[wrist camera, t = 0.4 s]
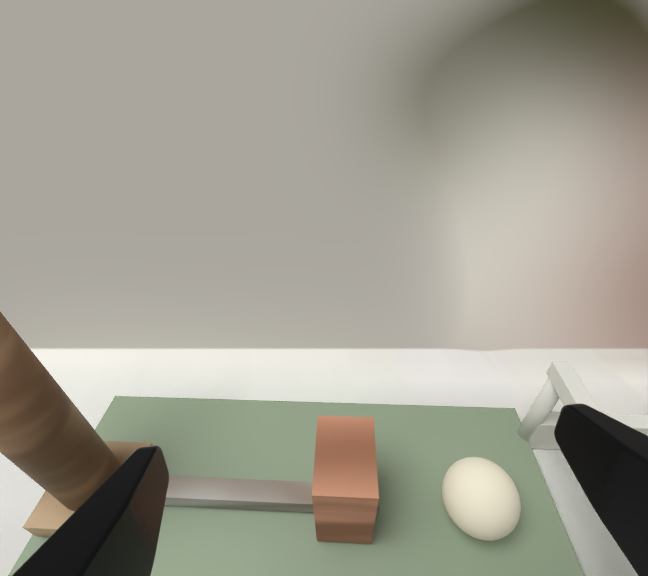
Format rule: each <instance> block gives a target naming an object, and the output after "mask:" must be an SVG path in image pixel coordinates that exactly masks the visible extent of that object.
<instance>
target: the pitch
mask: <svg viewBox="0 0 648 576" xmlns="http://www.w3.org/2000/svg"><path fill="white" fill-rule="evenodd" d="M547 375H548V379H547V381H546V383H545V384H544V386H543V388H542V389H541V391H540V393H539V394H538V396H537V398H536V400H535V401H534V403H533V405H532V406H531V408H530V410H529V412H528V413H527V415H526V417H525V418H524V420H523V422H522V424H521V422H520V420H519V417H518V415H517V412H516V410H515V408H486V407H454V406H421V405H389V404H356V403H324V402H291V401H259V400H226V399H194V398H161V397H129V396H115V397H114V399H113V401H112V402H111V404H110V406H109V407H108V409H107V411H106V412H105V414H104V416H103V418H102V419H101V421H100V423H99V424H98V426H97V428H96V429H95V431H96V433H97V434H98V435H99V436H100V438H101V439H102V440H103V441H120V442H146V443H152V444H153V446H155V445H157V446H160V447H161V449H162V451H163V455H164V458H165V461H166V464H167V468H168V471H169V476H187V477H210V478H233V479H256V480H279V481H302V482H313V473H314V459H315V445H316V432H317V418H318V415H319V416H350V417H374V430H375V445H376V461H377V477H378V485H379V498H380V511H379V516H376V518H375V524H374V530H373V536H372V542H371V544H365V543H346V542H328V541H317V538H316V529H315V520H314V513H312V512H292V511H271V510H250V509H230V508H209V507H188V506H168V505H164V511H163V516H162V522H161V527H160V533H159V538H158V543H157V549H156V554H155V559H154V564H153V568H152V572H151V575H150V576H584V574H583V571H582V569H581V567H580V564H579V562H578V559H577V557H576V554H575V552H574V550H573V547H572V545H571V542H570V540H569V538H568V535H567V533H566V530H565V528H564V526H563V523H562V521H561V518H560V516H559V514H558V511H557V509H556V506H555V504H554V502H553V499H552V497H551V494H550V492H549V490H548V487H547V485H546V482H545V480H544V477H543V475H542V473H541V470H540V468H539V465H538V463H537V461H536V458H535V456H534V453H533V451H532V449H557V450H561V449H560V447H559V445H558V444H557V442H556V439H555V436H554V429H555V426H556V423H557V420H558V418H559V415H560V412H551V410H552V409H553V407H554V406H555V404H556V403H557V401H558V400H559V398H560V399H561V401H562V403H563V405H564V406H565V405H569V404H585V405H588V406H590V407H592V408H594V409H596V410H598V411H600V409H599V407H598V406H597V404H596V403H595V401H594V399H593V398H592V396H591V395H590V393H589V391H588V390H587V388H586V387H585V385H584V383H583V382H582V380H581V379H580V377H579V375H578V374H577V372H576V371H575V369H574V367H573V366H572V364H571V363H570V362H552V364H551V366H550V367H549V369H548V371H547ZM600 412H601V411H600ZM604 414H606V415H607V416H609V417H611V418H613V419H615V420H617V421H619V422H621V423H623V424H625V425H627V426H629V427H631V428H633V429H635V430H637V431H639V432H641V433H643V434H645V435H647V436H648V415H641V414H608V413H604ZM466 457H480V458H484V459H487V460H490V461H492V462H494V463H495V464H497V465H498V466H500V467H501V468H502V469H503V470H504V471H505V472H506V473H507V474H508V475H509V476H510V477H511V479H512V480H513V482H514V484H515V486H516V488H517V490H518V493H519V496H520V502H521V512H520V517H519V521H518V523H517V525H516V527H515V528H514V530H513V531H512V532H511V533H510V534H508V535H507V536H506V537H504V538H501V539H498V540H494V541H486V540H480V539H476V538H474V537H472V536H470V535H468V534H466V533H465V532H463V531H462V530H461V529H460V528H459V527H458V526H457V525H456V524H455V523H454V522H453V521H452V519H451V518H450V516H449V515H448V513H447V511H446V508H445V505H444V502H443V498H442V483H443V479H444V476H445V474H446V472H447V470H448V469H449V467H450V466H451V465H452V464H454V463H455V462H456V461H458V460H460V459H463V458H466ZM48 538H49V537H37V536H35V535H32V537H31V538H30V540H29V542H28V543H27V545H26V547H25V548H24V550H23V552H22V554H21V555H20V557H19V559H18V560H17V562H16V564H15V565H14V567H13V569H12V570H11V572H10V574H9V575H8V576H12V575H13V574H14V573H15V572H16V571H17V570H18V569H19V568H20V567H21V566H22V565H23V564H24V563H25V562H26V561H27V560H28V559H29V558H30V557H31V556H32V555H33V553H34V552H35V551H36V550H37V549H38V548H39V547H40V546H41V545H42V544H43V543H44V542H45V541H46V540H47V539H48Z"/></svg>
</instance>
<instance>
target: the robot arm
mask: <svg viewBox="0 0 648 576" xmlns="http://www.w3.org/2000/svg"><path fill="white" fill-rule="evenodd" d="M554 436H555V439H556V442H557V444H558V445H559V447H560V449H561V451H562V453H563V454H564V456H565V458H566V460H567V462H568V463H569V465H570V467H571V469H572V471H573V472H574V474H575V476H576V478H577V480H578V481H579V483H580V485H581V487H582V489H583V490H584V492H585V494H586V496H587V498H588V499H589V501H590V503H591V504H592V506H593V508H594V509H595V511H596V513H597V514H598V516H599V517H600V519H601V520H602V522H603V523H604V525H605V526H606V528H607V529H608V531H609V532H610V534H611V535H612V537H613V538H614V540H615V541H616V543H617V544H618V546H619V547H620V549H621V550H622V552H623V553H624V555H625V556H626V558H627V559H628V561H629V562H630V564H631V565H632V567H633V568H634V570H635V571H636V573H637V574H638V576H648V436H647V435H645V434H643V433H641V432H639V431H637V430H635V429H633V428H631V427H629V426H627V425H625V424H623V423H621V422H619V421H617V420H615V419H613V418H611V417H609V416H607V415H606V414H604V413H602V412H600V411H598V410H596V409H594V408H592V407H590V406H588V405H585V404H569V405H565V406H564V407H563V408H562V409H561V412H560V415H559V418H558V420H557V423H556V426H555V429H554ZM168 484H169V471H168V468H167V464H166V461H165V458H164V455H163V451H162V449H161V447H160V446H157V445H155V446H144V447H140V448H138V449H136V450H135V451H134V452H133V453H132V454H131V455H130V456H129V457H128V458H127V459H126V460H125V461H124V462H123V463H122V464H121V465H120V466H119V467H118V468H117V469H116V470H115V471H114V472H113V473H112V474H111V476H110V477H109V478H108V479H107V480H106V481H105V482H104V483H103V484H102V485H101V486H100V487H99V488H98V489H97V490H96V491H95V492H94V493H93V494H92V495H91V496H90V497H89V498H88V499H87V500H86V501H85V502H84V503H83V504H82V505H81V506H80V507H79V508H78V509H77V510H76V511H75V512H74V513H73V514H72V515H71V516H70V517H69V518H68V519H67V520H66V521H65V522H64V523H63V524H62V525H61V526H60V527H59V528H58V529H57V530H56V531H55V532H54V533H53V534H52V535H51V536H50V537H49V538H48V539H47V540H46V541H45V542H44V543H43V544H42V545H41V546H40V547H39V548H38V549H37V550H36V551H35V552H34V553H33V555H32V556H31V557H30V558H29V559H28V560H27V561H26V562H25V563H24V564H23V565H22V566H21V567H20V568H19V569H18V570H17V571H16V572H15V573H14V574H13V575H12V576H150V575H151V572H152V568H153V564H154V559H155V554H156V549H157V543H158V538H159V533H160V527H161V522H162V516H163V511H164V505H165V500H166V495H167V489H168Z"/></svg>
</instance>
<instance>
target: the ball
mask: <svg viewBox="0 0 648 576" xmlns="http://www.w3.org/2000/svg"><path fill="white" fill-rule="evenodd" d="M442 498H443V502H444V505H445V508H446V511H447V513H448V515H449V516H450V518H451V519H452V521H453V522H454V523H455V524H456V525H457V526H458V527H459V528H460V529H461V530H462V531H463V532H465V533H466V534H468V535H470V536H472V537H474V538H476V539H480V540H486V541H494V540H498V539H501V538H504V537H506V536H507V535H508V534H510V533H511V532H512V531H513V530H514V528H515V527H516V525H517V523H518V521H519V517H520V512H521V502H520V496H519V493H518V490H517V488H516V486H515V484H514V482H513V480H512V479H511V477H510V476H509V475H508V474H507V473H506V472H505V471H504V470H503V469H502V468H501V467H500V466H498V465H497V464H495V463H494V462H492V461H490V460H487V459H484V458H480V457H466V458H463V459H460V460H458V461H456V462H455V463H454V464H452V465H451V466H450V467H449V469H448V470H447V472H446V474H445V476H444V479H443V483H442Z"/></svg>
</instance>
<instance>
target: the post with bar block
mask: <svg viewBox="0 0 648 576" xmlns="http://www.w3.org/2000/svg"><path fill="white" fill-rule="evenodd" d="M144 446H153V444H152V443H146V442H120V441H103V440H102V439H101V438H100V436H99V435H98V434H97V433H96V431H95V430H94V429H93V428H92V426H91V425H90V424H89V422H88V421H87V420H86V419H85V417H84V416H83V415H82V414H81V412H80V411H79V410H78V409H77V407H76V406H75V405H74V404H73V402H72V401H71V400H70V399H69V397H68V396H67V395H66V394H65V392H64V391H63V390H62V389H61V387H60V386H59V385H58V384H57V382H56V381H55V380H54V379H53V377H52V376H51V375H50V374H49V372H48V371H47V370H46V369H45V367H44V366H43V365H42V364H41V362H40V361H39V360H38V359H37V357H36V356H35V355H34V354H33V352H32V351H31V350H30V349H29V347H28V346H27V345H26V344H25V342H24V341H23V340H22V339H21V337H20V336H19V335H18V334H17V332H16V331H15V330H14V329H13V327H12V326H11V325H10V324H9V322H8V321H7V320H6V318H5V317H4V316H3V315H2V313H1V312H0V452H1V453H2V454H3V455H4V456H6V457H7V458H8V459H9V460H10V461H12V462H13V463H14V464H15V465H16V466H18V467H19V468H20V469H21V470H22V471H23V472H25V473H26V474H27V475H28V476H29V477H31V478H32V479H33V480H34V481H35V482H37V483H38V484H39V485H40V486H41V487H43V488H44V489H45V490H46V491H45V493H44V494H43V496H42V497H41V499H40V501H39V502H38V504H37V505H36V507H35V509H34V510H33V512H32V514H31V515H30V517H29V518H28V520H27V522H26V523H25V525H24V526H23V528H24V529H26V530H27V531H29V532H30V533H32V534H33V535H35V536H37V537H50V536H51V535H52V534H53V533H54V532H55V531H56V530H57V529H58V528H59V527H60V526H61V525H62V524H63V523H64V522H65V521H66V520H67V519H68V518H69V517H70V516H71V515H72V514H73V513H74V512H75V511H76V510H77V509H78V508H79V507H80V506H81V505H82V504H83V503H84V502H85V501H86V500H87V499H88V498H89V497H90V496H91V495H92V494H93V493H94V492H95V491H96V490H97V489H98V488H99V487H100V486H101V485H102V484H103V483H104V482H105V481H106V480H107V479H108V478H109V477H110V476H111V474H112V473H113V472H114V471H115V470H116V469H117V468H118V467H119V466H120V465H121V464H122V463H123V462H124V461H125V460H126V459H127V458H128V457H129V456H130V455H131V454H132V453H133V452H134V451H135V450H136V449H138V448H140V447H144ZM165 505H168V506H188V507H209V508H230V509H250V510H271V511H292V512H312V513H314V520H315V529H316V538H317V541H328V542H346V543H365V544H371V542H372V536H373V530H374V524H375V518H376V516H379V511H380V498H379V485H378V477H377V461H376V445H375V430H374V417H350V416H319V415H318V418H317V432H316V445H315V459H314V473H313V482H302V481H279V480H256V479H233V478H210V477H187V476H169V484H168V489H167V495H166V500H165Z"/></svg>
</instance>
